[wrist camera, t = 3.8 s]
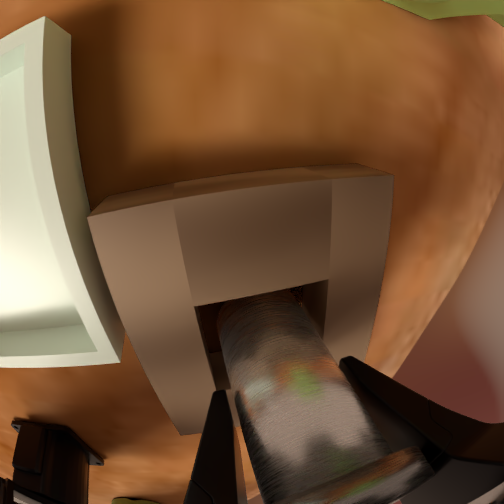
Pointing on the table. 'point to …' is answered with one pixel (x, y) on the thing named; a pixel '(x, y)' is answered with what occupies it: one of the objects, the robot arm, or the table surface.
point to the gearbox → (453, 8)
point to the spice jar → (306, 412)
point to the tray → (47, 215)
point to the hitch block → (241, 265)
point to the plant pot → (126, 503)
